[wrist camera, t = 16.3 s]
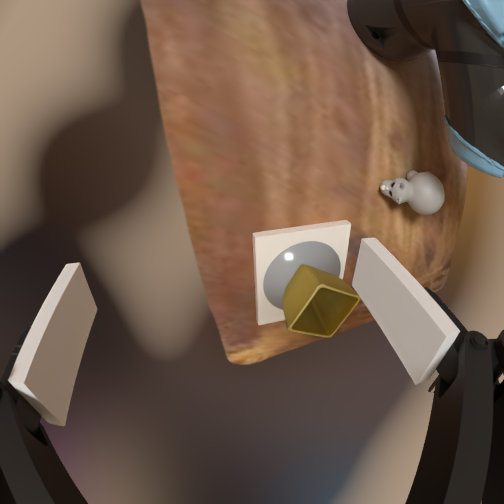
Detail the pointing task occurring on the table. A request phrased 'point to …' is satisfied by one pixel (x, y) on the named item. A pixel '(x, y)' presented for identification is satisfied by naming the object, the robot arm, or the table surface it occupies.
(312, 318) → the flower pot
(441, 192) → the hippopotamus figurine
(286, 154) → the table surface
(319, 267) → the tile stand
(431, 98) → the table surface
